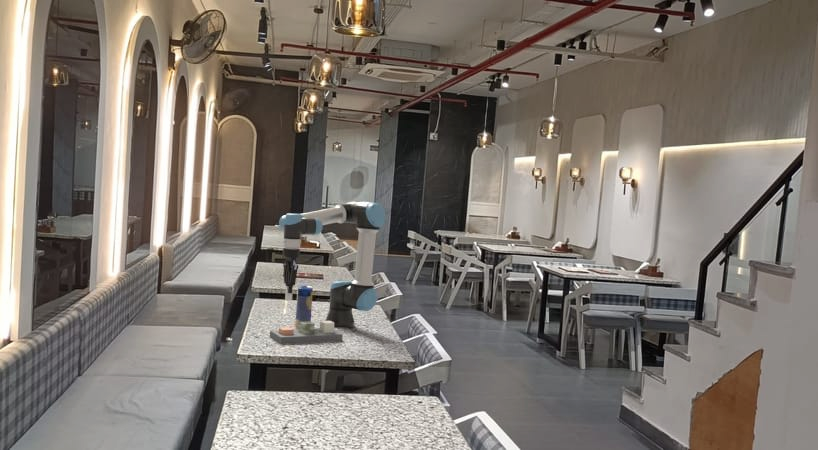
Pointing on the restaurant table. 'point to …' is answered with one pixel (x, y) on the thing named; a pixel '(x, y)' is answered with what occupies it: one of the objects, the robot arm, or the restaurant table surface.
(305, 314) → the beverage box
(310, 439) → the restaurant table surface
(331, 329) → the off-white block
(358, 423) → the restaurant table surface
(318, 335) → the gray slotted block tray
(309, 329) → the sage block
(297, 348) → the restaurant table surface
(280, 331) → the terracotta block
